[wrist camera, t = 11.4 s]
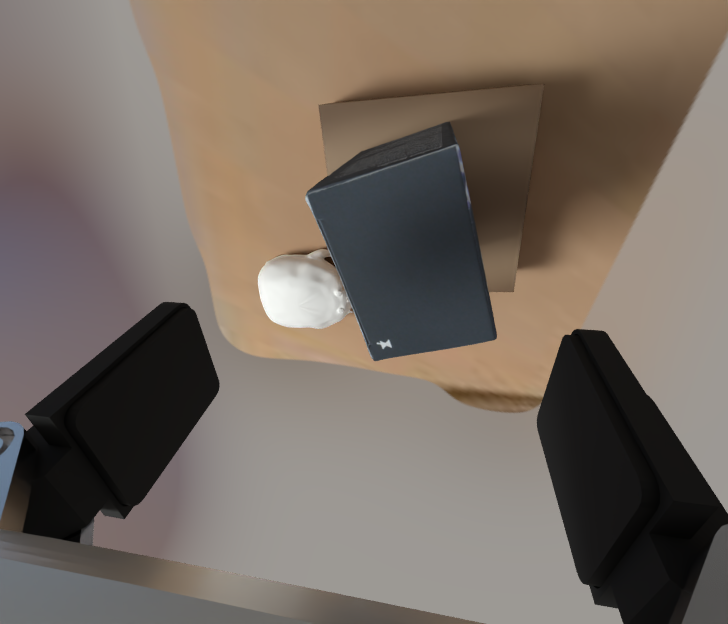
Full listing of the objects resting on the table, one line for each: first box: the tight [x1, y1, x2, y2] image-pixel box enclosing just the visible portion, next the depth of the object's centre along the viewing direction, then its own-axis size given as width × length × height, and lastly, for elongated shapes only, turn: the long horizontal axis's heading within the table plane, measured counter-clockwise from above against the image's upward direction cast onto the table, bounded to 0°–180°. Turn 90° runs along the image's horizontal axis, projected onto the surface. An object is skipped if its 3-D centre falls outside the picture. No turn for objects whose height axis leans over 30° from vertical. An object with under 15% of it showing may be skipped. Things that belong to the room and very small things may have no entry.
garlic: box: [258, 249, 353, 329], centre depth 30 cm, size 8×7×4 cm
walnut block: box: [319, 84, 544, 292], centre depth 24 cm, size 12×12×4 cm
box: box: [305, 122, 497, 361], centre depth 18 cm, size 8×6×11 cm
